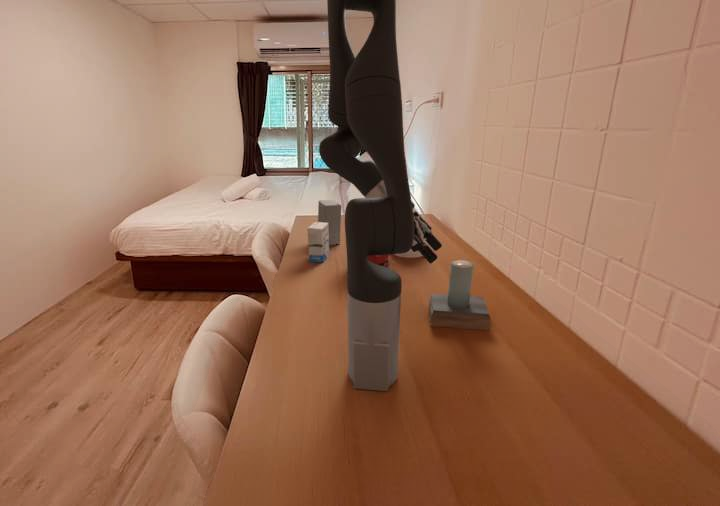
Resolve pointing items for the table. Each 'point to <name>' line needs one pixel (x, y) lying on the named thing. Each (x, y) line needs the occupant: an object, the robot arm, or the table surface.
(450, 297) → the ceramic tumbler
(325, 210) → the skincare box
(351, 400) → the table surface
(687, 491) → the table surface
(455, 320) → the dark grey slab
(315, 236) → the ink box
